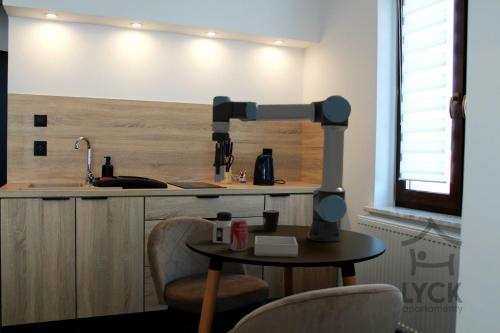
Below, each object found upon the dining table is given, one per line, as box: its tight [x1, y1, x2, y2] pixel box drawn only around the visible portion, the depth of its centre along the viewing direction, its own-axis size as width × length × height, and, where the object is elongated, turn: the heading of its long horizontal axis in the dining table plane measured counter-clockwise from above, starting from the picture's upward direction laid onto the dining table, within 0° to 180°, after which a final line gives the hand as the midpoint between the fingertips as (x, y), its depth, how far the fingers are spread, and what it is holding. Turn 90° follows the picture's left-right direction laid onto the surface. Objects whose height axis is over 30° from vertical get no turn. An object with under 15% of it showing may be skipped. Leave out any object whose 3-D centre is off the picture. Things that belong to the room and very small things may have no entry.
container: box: [212, 211, 233, 245], centre depth 201 cm, size 8×8×13 cm
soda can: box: [229, 218, 249, 252], centre depth 185 cm, size 7×7×12 cm
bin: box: [254, 235, 299, 258], centre depth 184 cm, size 17×17×4 cm
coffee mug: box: [261, 209, 280, 233], centre depth 233 cm, size 12×9×10 cm
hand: (219, 181), depth 199 cm, fingers open, 13 cm apart
